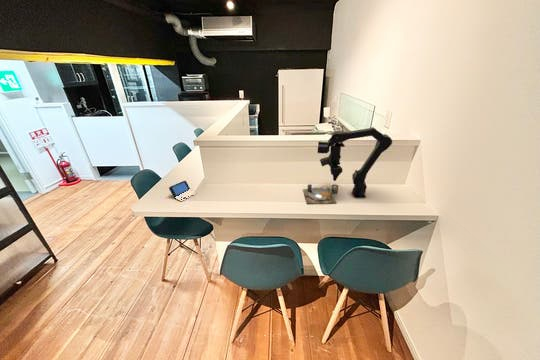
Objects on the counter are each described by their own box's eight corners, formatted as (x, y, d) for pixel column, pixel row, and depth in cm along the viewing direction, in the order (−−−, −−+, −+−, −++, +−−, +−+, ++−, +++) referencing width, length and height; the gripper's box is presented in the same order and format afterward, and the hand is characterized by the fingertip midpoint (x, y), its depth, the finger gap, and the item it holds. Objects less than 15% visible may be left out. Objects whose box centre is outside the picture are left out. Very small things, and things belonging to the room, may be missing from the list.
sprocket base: (328, 190, 139) (329, 188, 138) (336, 203, 123) (336, 202, 123) (302, 190, 139) (303, 189, 138) (307, 204, 123) (307, 202, 123)
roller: (336, 191, 137) (337, 184, 135) (338, 194, 133) (339, 187, 131) (330, 191, 137) (331, 184, 135) (331, 194, 134) (332, 187, 131)
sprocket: (310, 187, 140) (310, 179, 137) (333, 191, 134) (334, 183, 132) (303, 198, 127) (303, 190, 124) (328, 203, 121) (329, 195, 118)
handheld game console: (181, 202, 128) (178, 191, 125) (170, 197, 134) (168, 187, 131) (198, 193, 138) (196, 183, 135) (187, 189, 143) (185, 179, 140)
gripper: (319, 149, 134) (318, 171, 140) (322, 158, 117) (321, 184, 123) (338, 148, 132) (335, 171, 139) (343, 158, 115) (341, 184, 122)
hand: (333, 177), depth 131 cm, fingers open, 9 cm apart
